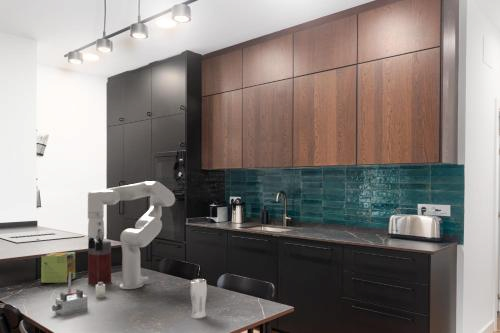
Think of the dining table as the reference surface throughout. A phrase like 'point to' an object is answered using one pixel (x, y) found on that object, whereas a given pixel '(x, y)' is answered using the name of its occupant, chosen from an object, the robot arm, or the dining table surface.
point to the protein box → (57, 267)
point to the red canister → (99, 264)
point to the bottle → (100, 290)
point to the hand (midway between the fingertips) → (95, 249)
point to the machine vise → (71, 303)
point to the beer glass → (198, 297)
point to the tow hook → (69, 286)
